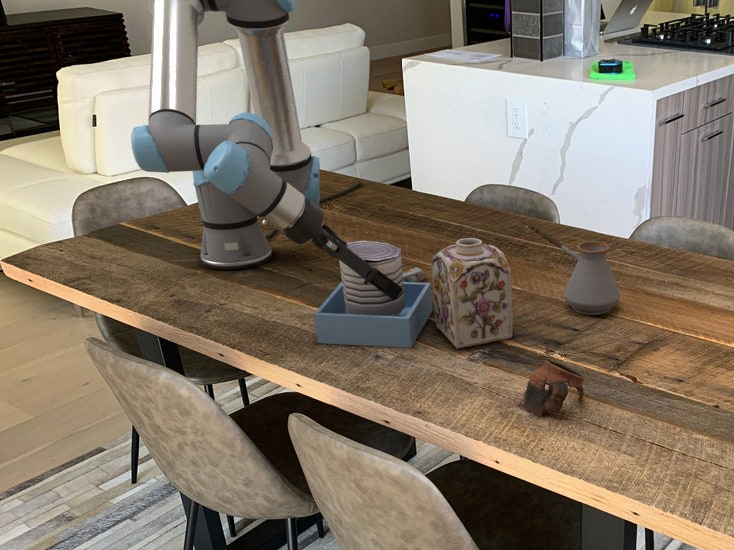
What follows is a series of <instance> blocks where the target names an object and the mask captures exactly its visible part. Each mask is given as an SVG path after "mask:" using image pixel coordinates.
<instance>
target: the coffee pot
mask: <svg viewBox="0 0 734 550" xmlns="http://www.w3.org/2000/svg"><path fill="white" fill-rule="evenodd" d="M528 228H529V229H528ZM527 229H528V230H527ZM530 230H533V231H534V233H535V234H538V235H539V236H541V237H542V238H543V239H544V240H545V241H547V242H549V243H551V244H552V245H554V246H555V247H557V248H559V250H560V249H561V250H562V251H564V252H565V253H566V254H568V255H569V256H571V257H572V258H574V259H575V260H577V263H576V265H575V266H574V269H573V270H572V273H571V275H570V278H569V280H568V282H567V284H566V287H565V289H564V291H563V297H564V301H565V302H566V303H567V304H568V306H570V308H572V310H573V311H574V312H577V313H579V314H583V315H589V316H590V315H591V316H594V315H603V314H606V313H608V312H609V311H611V309H612V308H614V307H615V306H616V305H617V304H618V303H619V301H620V299H621V292H620V289H619V286H618V284H617V282H616V279H615V276H614V274H613V271H612V269H611V267H610V263H609V261H608V259H607V254H608V251H609V250H610V245H609V244H607V243H606V242H603V241H595V240H592V241H583V242H580V243H578V244H577V245H576V249H577V251H578V253H579V254H577V253H576V252H575V251H573V250H571V249H570V248H569V247H566V246H565V245H564V244H563V243H562V242H560V241H559V240H557V239H556V238H554V237H553V236H552V235H551V234H549V233H548V232H545V231H543V230H541V228H540V227H536V225H534V224H532V223H530V222H529V223H527V225H526V227H525V228H524V231H525V233H528V232H529V231H530Z"/></svg>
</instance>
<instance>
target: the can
mask: <svg viewBox="0 0 734 550" xmlns="http://www.w3.org/2000/svg"><path fill="white" fill-rule="evenodd" d="M350 242H351V243H350ZM350 242H346V243H347V247H348V248H349V249H350V250H351V251H353V252H354V253H355V254H357V255H358V256H359V257H360V258H362V259H363V260H364V261H365V262H367V263H368V264H369V265H371V266H372V267H374V268H376V269H377V270H379V271H380V272H381V273H383V274H384V275H385V276H387V277H388V278H390V279H391V280H392V281H394V282H395V283H396V284H398V285H399V286H400V287H402V288H403V290H402V292H401V293H400V294H399V296H398V297H397V298H396V299H395V301H394V300H393V299H391V298H390V297H389V296H387V295H386V294H385V293H383V292H382V291H380V290H379V289H378V288H376V287H375V286H374V285H372V284H371V283H368V284H367V285H366V284H364V283H363V282H364V281H365V279H364V278H363V277H361V276H360V275H359V274H357V273H356V272H355V271H353V270H352V269H351V268H349V267H348V266H347V265H345V264H344V263H343V262H341V261H340V260H339V259H338V260H339V268H340V276H341V282H342V285H343V293H344V301H345V309H346V311H347V313H348V314H357V315H378V316H395V315H399V314H400V313H401V312H402V311H403V310H404V309H405V297H404V286H403V265H402V264H403V263H402V254H401V251H402V248H400V247H399V246H398V247H397V246H395V245H392V244H391V243H388V242H383V241H371V240H358V241H350Z"/></svg>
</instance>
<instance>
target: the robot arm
mask: <svg viewBox="0 0 734 550" xmlns="http://www.w3.org/2000/svg"><path fill="white" fill-rule="evenodd" d="M146 5H147V6H146V7H147V10H148V12H149V13H150V15H151V16H152V23H151V24H152V27H151V48H150V49H151V50H150V72H149V73H150V74H149V91H148V93H149V95H148V116H147V117H148V119H147V121H148V123H147V124H143V125H141V126H140V125H139V126H135V127H133V130H132V131H131V134H130V144H131V150H132V155H133V157H134V160H135V162H136V164H137V166H138V167H139V168H140V170H142V171H143V172H147V173H166V174H169V173H176V172H177V173H178V172H179V173H181V172H192V178H193V182H192V185H193V186H194V188H195V194H196V195H195V196H196V200H197V204H198V208H199V213H200V217H201V218H200V219H201V222H202V227H203V231H202V239H201V246H200V260H201V264H202V265H203V266H204V267H206V268H208V269H212V270H219V271H220V270H221V271H237V270H244V269H249V268H250V269H251V268H254V267H257V266H260V265H263V264H265V263H268V262H269V261H270V260H271V259H272V257H273V253H272V247H271V245H270V242H269V241H268V239H270V238H271V237H272V236H273V235H274V233H275V231H276V230H277V231H281V233H282V235H284V237H286V238H288V239H289V240H290V241H292V242H293V243H295V244H296V245H304V244H306V243H308V242H309V241H310V242H311V243H312V244H314V245H315V246H316V247H317V248H318V249H319V250H321V251H324V252H326V253H327V254H328V255H329V256H331V257H332V258H333V259H335V260H336V259H337V260H340V261H341V262H343V263H344V264H345V265H347V266H348V267H349V268H351V269H352V270H353V271H355V272H356V273H357V274H359V275H360V276H361V277H363V278H364V279H365V281H364V282H363V283H364V284H366V285H367V284H368V283H371V284H372V285H374V286H375V287H376V288H378V289H379V290H380V291H382V292H383V293H385V294H386V295H387V296H389V297H390V298H391V299H393V300H394V301H395V299H396V298H397V297H398V296H399V294H400V293H401V292H402V290H403V288H402V287H400V286H399V285H398V284H396V283H395V282H394V281H392V280H391V279H390V278H388V277H387V276H385V275H384V274H383V273H381V272H380V271H379V270H377V269H376V268H374V267H372V266H371V265H369V264H368V263H367V262H365V261H364V260H363V259H362V258H360V257H359V256H358V255H357V254H355V253H354V252H353V251H351V250H350V249H349V248H348V247H347V243H348V242H347V241H345V240H343V239H342V238H341V237H339V236H338V234H337V233H336V232H335V231H334V230H333V229H332V228H331V227H330V226H328V225H327V224H326V223H323V221H324V219H325V213H324V210H323V209H322V208H321V207H320V206H319V205H320V203H321V202H325V201H327V200H330V199H332V198H335V197H338V196H340V195H344V194H346V193H349V192H350V191H352V190H354V189H356V188H357V187H359V186H360V185H362V181H359V182H357V183H355V184H353V185H352V186H349V187H348V188H346V189H343V190H341V191H338V192H336V193H333V194H331V195H328V196H325V197H322V198H320V197H321V163H320V158H319V157H318V156H316V155H312V151H311V148H310V146H309V145H308V144H306V143H305V142H303V140H302V134H301V129H300V128H301V127H300V122H299V116H298V110H297V103H296V97H295V91H294V86H293V80H292V73H291V69H290V61H289V56H288V51H287V45H286V39H285V32H284V28H285V27H286V26H287V24H288V23H289V21H290V15H289V13H292V12H293V11H295V10H296V0H146ZM207 12H221V13H223V12H224V13H225V16H226V22H227V24H228V25H229V26H230V27H231V28H233V29H234V30H236V32H237V35H238V36H237V37H238V40H239V45H240V50H241V55H242V60H243V65H244V70H245V75H246V80H247V85H248V91H249V94H250V100H251V105H252V109H253V113H252V112H240V113H238V114H236V115H235V116H233V117H232V118H231V119H230V120H229V122H228V123H217V124H216V123H215V124H214V123H213V124H197V103H198V102H197V101H198V100H197V97H198V59H199V57H198V56H199V55H198V53H199V52H198V51H199V26H200V25H201V24H202V23H203V22H204V19H205V14H206V13H207ZM258 218H260V219H262V222H261V223H262V225H263V226H268V225H270V226H272V227H273V228H271V231H270V232H269V233H268V234H266V235H265V233H264V231H263V230H262V227H261V226H260V223H259V219H258ZM351 242H352V241H350V242H349V243H351ZM340 261H339V262H340Z"/></svg>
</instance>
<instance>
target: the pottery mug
mask: <svg viewBox="0 0 734 550" xmlns="http://www.w3.org/2000/svg"><path fill="white" fill-rule="evenodd" d="M541 364H542V365H540V366H538V367H536V369H535V370H533V371H532V372H531V374H530V375H529V380H528V382H527V385H526V389H525V390H524V392H523V394H522V395H523V398H522V402H521V403H522V404H521V405H523V406H524V408H526V410H528V411H530V412H531V413H533V414H535V415H537V416H540V417H542V415H543V411H544V409H545V410H546V411H547V412H548V413H550V414H557V413H559V412H561V409H562V408H563V404H564V401H566V398H567V396H568V395H569V387H573V388H575V389H576V390H577V392H578V398H577V401H578V403H582V402H583V399H584V394H585V393H584V392H585V391H584V386H583V382H584V381H585V378H584V376H583V375H582V374H581V373H579V372H578V371H576V370H574V369H572V368H570V367H567V366H565V365H564V364H561V363H559V362H556V361H553V360H550V359H543V362H542V363H541ZM546 385H547V388H548V389H546Z"/></svg>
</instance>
